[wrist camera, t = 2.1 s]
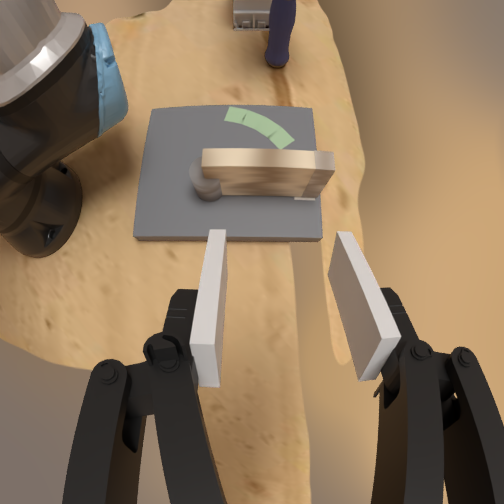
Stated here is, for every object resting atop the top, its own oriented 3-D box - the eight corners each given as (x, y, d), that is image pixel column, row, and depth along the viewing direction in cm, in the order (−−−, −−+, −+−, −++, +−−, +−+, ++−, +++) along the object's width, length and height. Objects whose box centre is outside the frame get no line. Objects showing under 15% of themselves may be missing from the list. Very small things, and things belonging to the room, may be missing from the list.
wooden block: (195, 201, 35) (182, 174, 27) (197, 174, 36) (185, 142, 28) (317, 203, 36) (336, 177, 28) (315, 176, 36) (332, 145, 28)
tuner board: (139, 240, 37) (132, 236, 35) (156, 118, 40) (151, 109, 38) (317, 242, 38) (322, 237, 35) (308, 117, 41) (312, 108, 38)
